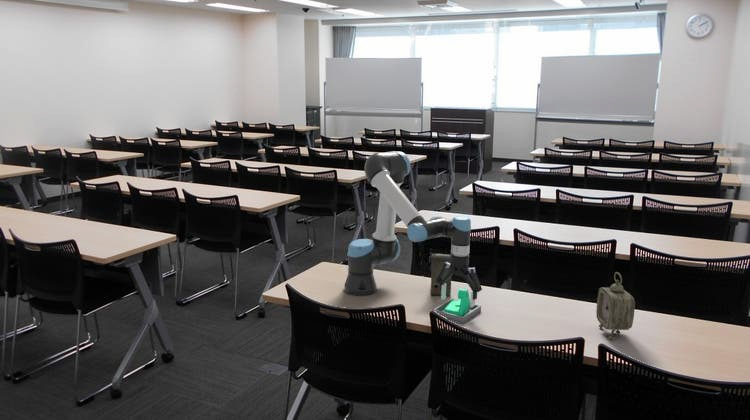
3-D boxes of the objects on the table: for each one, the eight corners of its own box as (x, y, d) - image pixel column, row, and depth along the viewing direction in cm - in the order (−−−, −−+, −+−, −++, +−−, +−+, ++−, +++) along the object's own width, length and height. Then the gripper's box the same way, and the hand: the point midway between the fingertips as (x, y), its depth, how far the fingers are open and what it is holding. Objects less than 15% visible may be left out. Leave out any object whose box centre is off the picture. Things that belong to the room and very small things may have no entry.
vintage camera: (450, 287, 271) (451, 246, 267) (451, 297, 256) (452, 254, 252) (430, 286, 272) (430, 246, 268) (430, 296, 256) (430, 254, 253)
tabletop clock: (594, 326, 227) (600, 266, 222) (617, 326, 227) (623, 267, 222) (607, 341, 213) (614, 278, 208) (632, 342, 213) (639, 279, 207)
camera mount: (452, 305, 245) (453, 282, 243) (469, 308, 241) (471, 285, 239) (444, 315, 234) (445, 291, 232) (461, 318, 231) (463, 294, 229)
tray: (432, 315, 235) (433, 309, 235) (451, 303, 248) (451, 298, 248) (463, 323, 227) (463, 317, 227) (480, 311, 240) (481, 305, 240)
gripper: (429, 250, 236) (427, 298, 241) (483, 261, 222) (480, 312, 227) (438, 246, 242) (436, 293, 247) (491, 257, 228) (488, 306, 233)
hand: (457, 302), depth 237 cm, fingers open, 13 cm apart
